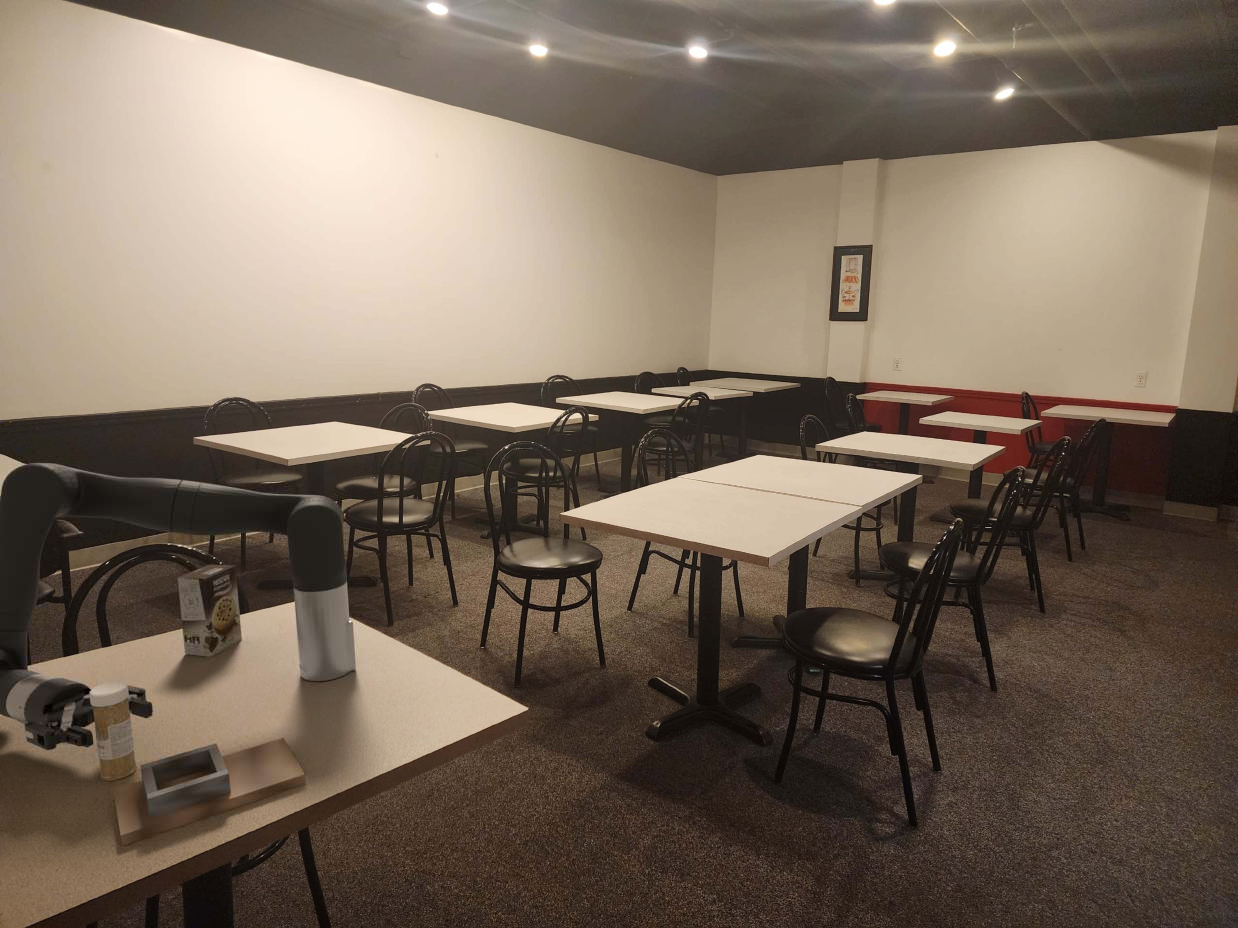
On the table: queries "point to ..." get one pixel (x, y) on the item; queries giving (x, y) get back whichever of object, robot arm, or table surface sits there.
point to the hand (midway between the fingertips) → (121, 724)
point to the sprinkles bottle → (113, 730)
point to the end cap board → (202, 786)
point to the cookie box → (209, 609)
